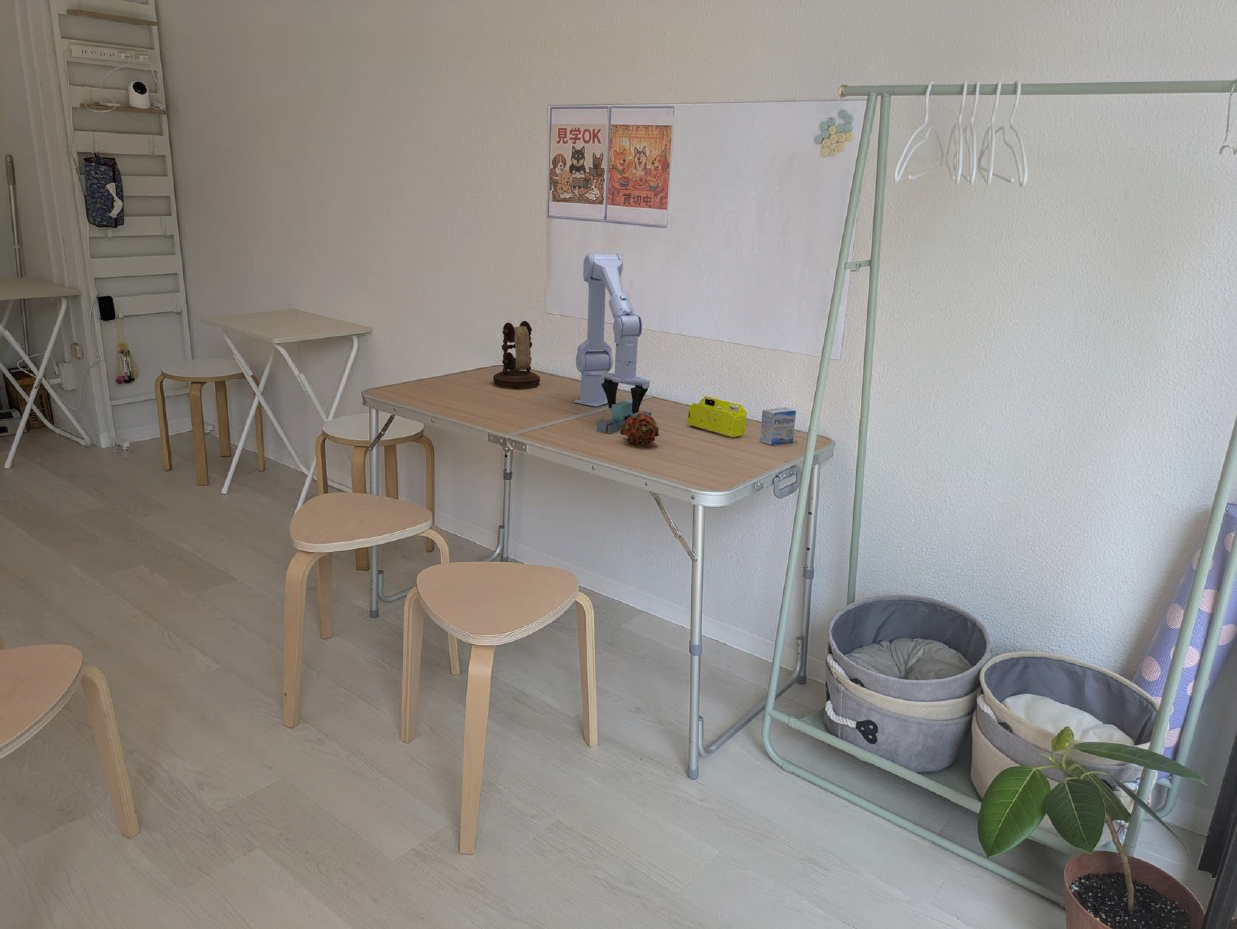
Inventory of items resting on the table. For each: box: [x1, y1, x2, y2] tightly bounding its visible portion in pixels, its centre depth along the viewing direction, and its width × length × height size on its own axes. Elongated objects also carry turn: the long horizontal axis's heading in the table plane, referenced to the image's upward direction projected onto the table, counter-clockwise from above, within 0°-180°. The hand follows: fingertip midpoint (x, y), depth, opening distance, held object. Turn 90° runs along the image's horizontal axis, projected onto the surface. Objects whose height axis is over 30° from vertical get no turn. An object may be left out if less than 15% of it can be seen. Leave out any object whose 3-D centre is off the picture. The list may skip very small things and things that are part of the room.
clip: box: [611, 400, 635, 421], centre depth 248 cm, size 7×3×6 cm, turn 146°
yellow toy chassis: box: [686, 395, 747, 438], centre depth 246 cm, size 16×6×8 cm, turn 44°
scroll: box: [492, 320, 541, 390], centre depth 289 cm, size 15×15×20 cm
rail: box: [596, 409, 652, 435], centre depth 249 cm, size 20×4×2 cm, turn 146°
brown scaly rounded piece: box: [619, 413, 660, 446], centre depth 232 cm, size 8×8×12 cm
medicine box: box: [759, 407, 797, 446], centre depth 239 cm, size 8×4×9 cm, turn 122°
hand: (623, 410), depth 248 cm, fingers open, 7 cm apart
